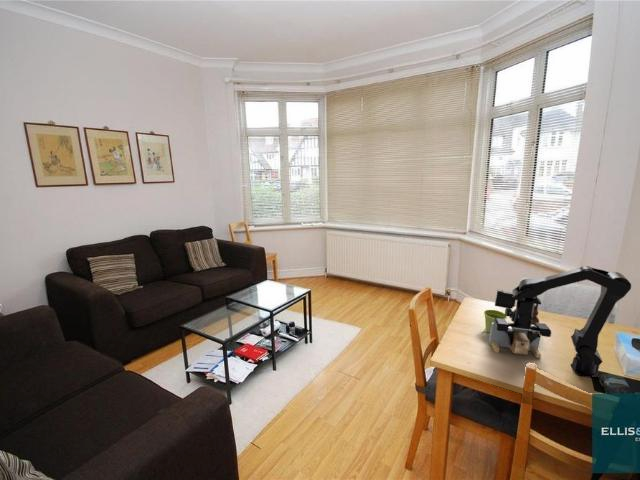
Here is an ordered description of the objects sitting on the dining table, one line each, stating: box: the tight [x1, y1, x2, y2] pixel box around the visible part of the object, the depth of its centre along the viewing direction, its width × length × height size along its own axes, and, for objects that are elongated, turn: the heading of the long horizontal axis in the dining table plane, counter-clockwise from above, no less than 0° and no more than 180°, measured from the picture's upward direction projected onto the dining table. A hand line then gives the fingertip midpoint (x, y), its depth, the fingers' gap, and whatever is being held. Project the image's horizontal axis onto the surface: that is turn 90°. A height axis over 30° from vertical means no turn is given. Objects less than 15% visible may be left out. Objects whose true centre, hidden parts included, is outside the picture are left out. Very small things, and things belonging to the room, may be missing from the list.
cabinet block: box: [508, 331, 530, 356], centre depth 123 cm, size 5×7×6 cm
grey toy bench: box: [488, 322, 542, 359], centre depth 126 cm, size 18×6×10 cm, turn 74°
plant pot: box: [483, 309, 508, 334], centre depth 141 cm, size 9×9×9 cm
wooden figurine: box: [531, 304, 540, 325], centre depth 140 cm, size 7×6×15 cm
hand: (518, 345), depth 124 cm, fingers closed on cabinet block, 5 cm apart
